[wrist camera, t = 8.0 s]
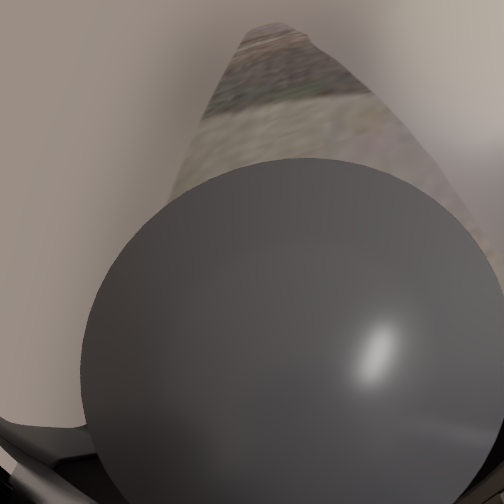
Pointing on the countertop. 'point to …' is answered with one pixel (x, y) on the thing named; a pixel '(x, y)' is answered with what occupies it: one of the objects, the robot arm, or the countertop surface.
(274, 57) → the countertop surface
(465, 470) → the bobbin
